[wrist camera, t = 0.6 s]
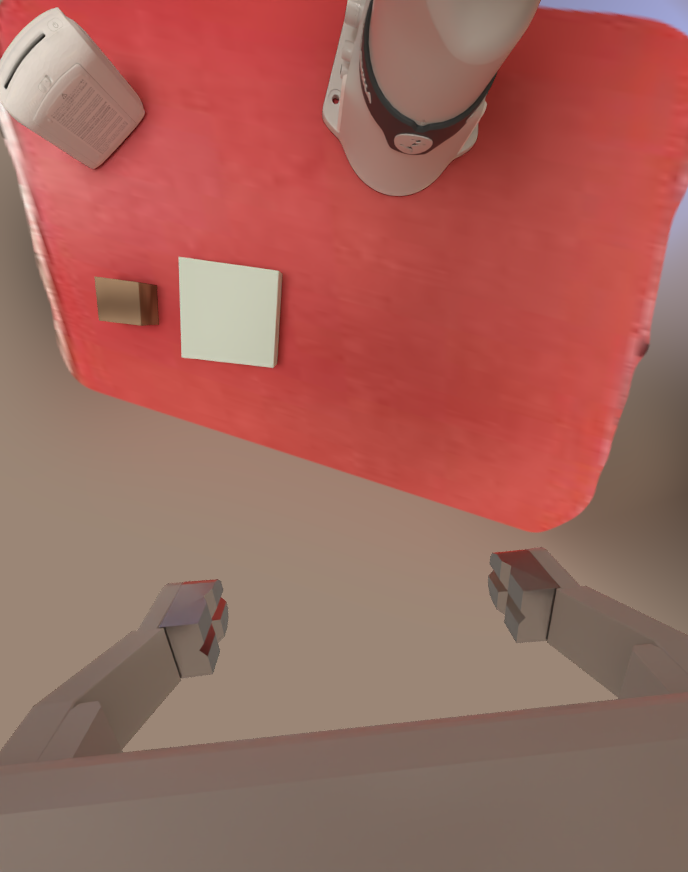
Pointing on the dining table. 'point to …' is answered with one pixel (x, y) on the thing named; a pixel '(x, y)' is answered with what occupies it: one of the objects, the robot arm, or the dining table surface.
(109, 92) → the white slotted box
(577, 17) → the dining table surface
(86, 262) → the dining table surface
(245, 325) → the mint base block
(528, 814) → the robot arm
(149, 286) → the walnut cube
